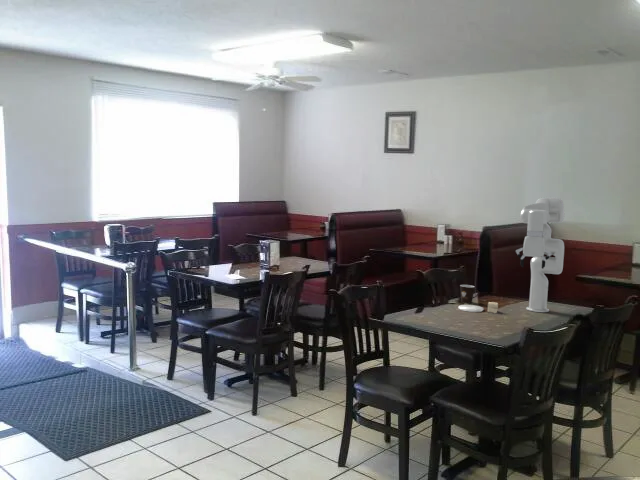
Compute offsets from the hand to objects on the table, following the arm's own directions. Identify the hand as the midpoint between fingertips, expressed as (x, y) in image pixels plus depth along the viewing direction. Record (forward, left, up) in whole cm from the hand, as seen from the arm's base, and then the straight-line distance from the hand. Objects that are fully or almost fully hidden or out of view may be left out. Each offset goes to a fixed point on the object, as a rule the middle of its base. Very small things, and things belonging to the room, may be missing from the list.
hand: (532, 267), depth 297 cm
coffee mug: (-43, -38, -30) cm, 65 cm away
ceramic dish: (-23, -33, -30) cm, 50 cm away
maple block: (-24, -21, -30) cm, 44 cm away
